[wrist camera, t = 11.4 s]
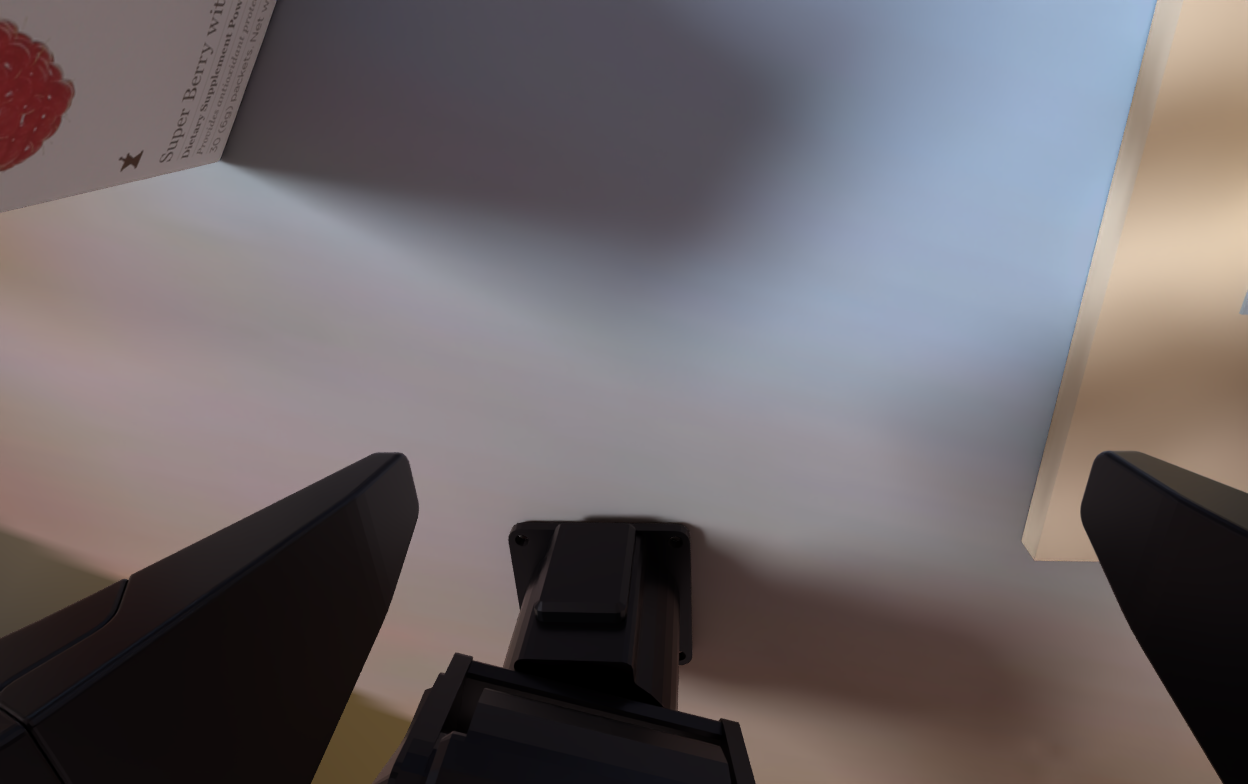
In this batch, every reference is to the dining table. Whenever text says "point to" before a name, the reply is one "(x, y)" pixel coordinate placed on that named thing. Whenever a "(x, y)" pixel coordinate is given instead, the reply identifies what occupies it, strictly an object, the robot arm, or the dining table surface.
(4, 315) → the dining table surface
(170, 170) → the supplement box
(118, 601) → the robot arm
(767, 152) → the dining table surface
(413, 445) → the dining table surface
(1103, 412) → the tan board grey square
